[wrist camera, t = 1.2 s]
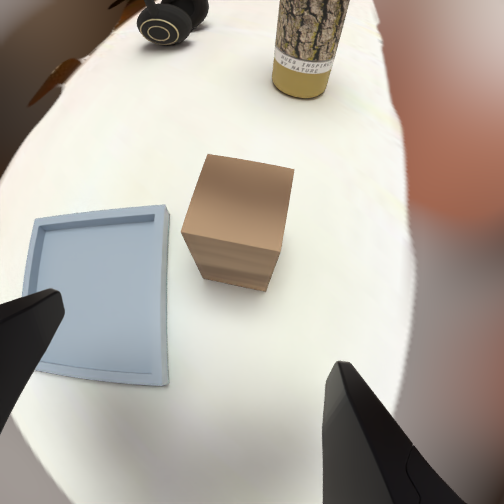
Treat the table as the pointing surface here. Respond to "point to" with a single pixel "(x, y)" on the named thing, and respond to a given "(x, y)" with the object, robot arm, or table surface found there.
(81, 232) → the tray
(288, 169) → the walnut block
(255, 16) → the table surface
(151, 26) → the headphones
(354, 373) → the robot arm
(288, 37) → the paper tube
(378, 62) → the table surface
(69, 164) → the table surface
